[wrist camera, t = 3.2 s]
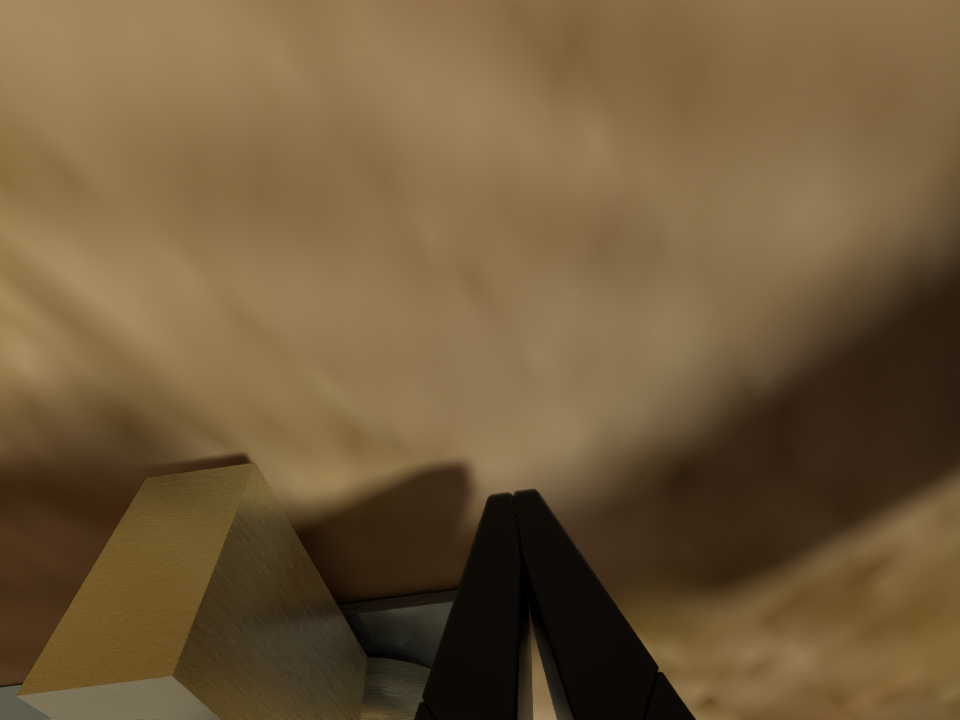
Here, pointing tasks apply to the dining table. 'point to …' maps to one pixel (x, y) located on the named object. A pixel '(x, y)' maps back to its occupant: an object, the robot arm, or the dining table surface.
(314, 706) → the brass door handle
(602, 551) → the dining table surface
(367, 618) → the flange
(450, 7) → the dining table surface
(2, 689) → the rack
